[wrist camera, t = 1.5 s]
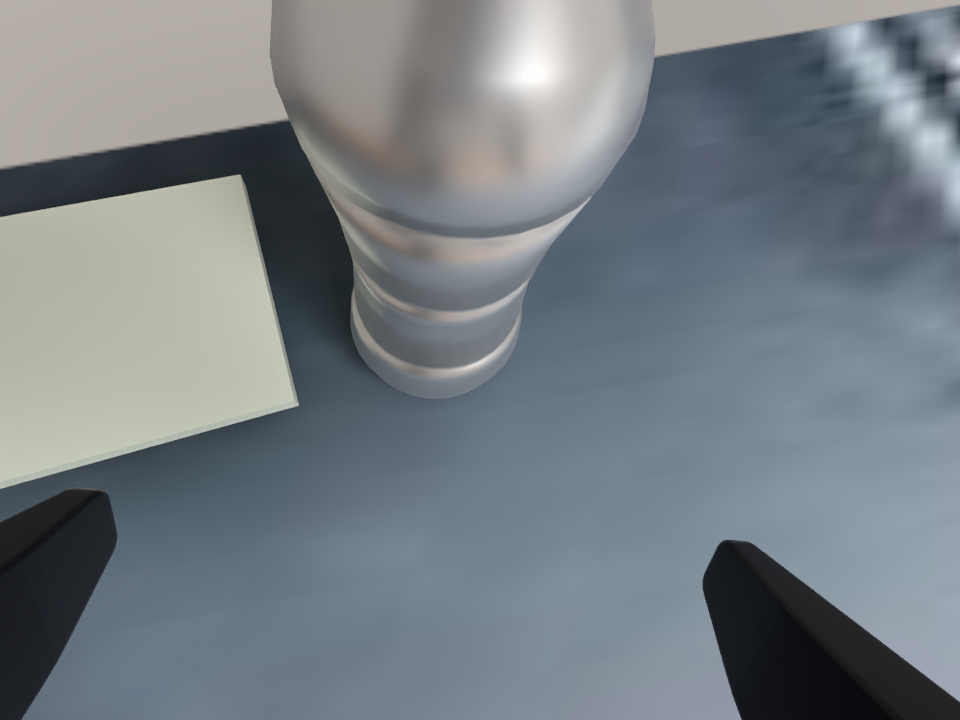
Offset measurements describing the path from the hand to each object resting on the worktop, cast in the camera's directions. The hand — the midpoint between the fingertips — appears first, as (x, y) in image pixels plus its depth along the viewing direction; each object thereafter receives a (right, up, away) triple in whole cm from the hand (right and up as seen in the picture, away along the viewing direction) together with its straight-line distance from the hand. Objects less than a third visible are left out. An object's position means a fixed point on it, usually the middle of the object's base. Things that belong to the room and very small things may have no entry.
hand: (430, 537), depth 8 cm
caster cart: (-13, +4, +14) cm, 19 cm away
